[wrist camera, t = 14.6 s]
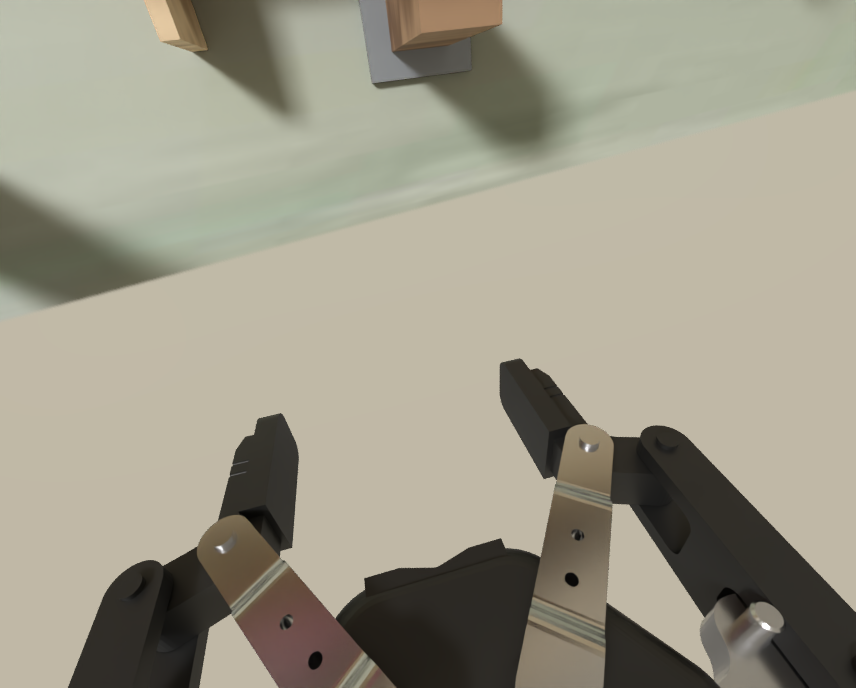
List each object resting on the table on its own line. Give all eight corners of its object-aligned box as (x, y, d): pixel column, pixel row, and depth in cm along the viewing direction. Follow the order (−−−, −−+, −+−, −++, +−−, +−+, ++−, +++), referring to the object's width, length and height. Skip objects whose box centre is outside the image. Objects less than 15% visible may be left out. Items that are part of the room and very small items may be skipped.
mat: (372, 83, 33) (372, 83, 33) (348, -63, 28) (349, -66, 27) (469, 70, 34) (471, 70, 34) (464, -73, 29) (466, -76, 29)
